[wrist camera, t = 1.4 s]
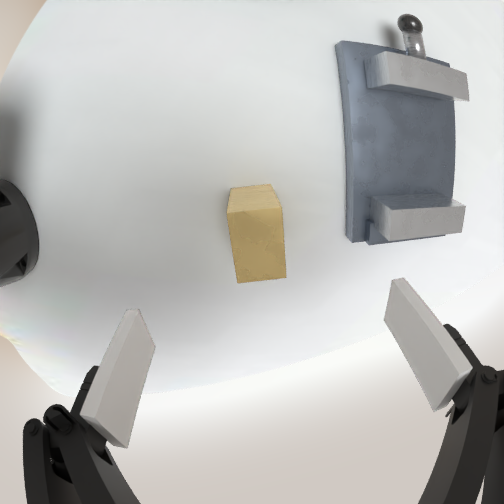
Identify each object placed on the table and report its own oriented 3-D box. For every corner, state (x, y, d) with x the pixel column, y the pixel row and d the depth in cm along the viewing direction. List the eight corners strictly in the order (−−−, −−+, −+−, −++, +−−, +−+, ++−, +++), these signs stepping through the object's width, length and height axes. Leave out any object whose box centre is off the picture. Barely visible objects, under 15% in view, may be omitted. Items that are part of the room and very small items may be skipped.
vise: (345, 235, 29) (368, 263, 23) (334, 45, 20) (359, 27, 14) (438, 225, 29) (468, 247, 23) (439, 65, 20) (474, 60, 14)
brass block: (238, 242, 29) (237, 283, 22) (230, 188, 27) (226, 213, 19) (275, 238, 29) (286, 277, 22) (270, 183, 27) (281, 207, 19)
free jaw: (367, 88, 20) (390, 83, 16) (354, 11, 16) (373, -4, 12) (442, 100, 20) (469, 101, 16) (432, 31, 16) (456, 24, 12)
